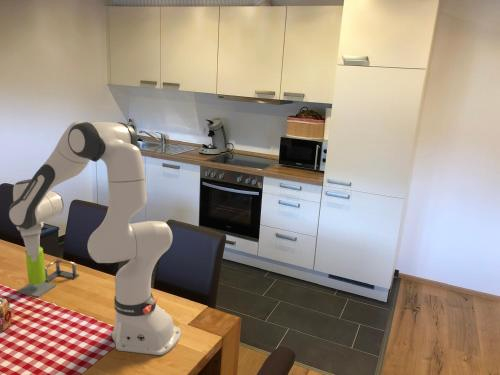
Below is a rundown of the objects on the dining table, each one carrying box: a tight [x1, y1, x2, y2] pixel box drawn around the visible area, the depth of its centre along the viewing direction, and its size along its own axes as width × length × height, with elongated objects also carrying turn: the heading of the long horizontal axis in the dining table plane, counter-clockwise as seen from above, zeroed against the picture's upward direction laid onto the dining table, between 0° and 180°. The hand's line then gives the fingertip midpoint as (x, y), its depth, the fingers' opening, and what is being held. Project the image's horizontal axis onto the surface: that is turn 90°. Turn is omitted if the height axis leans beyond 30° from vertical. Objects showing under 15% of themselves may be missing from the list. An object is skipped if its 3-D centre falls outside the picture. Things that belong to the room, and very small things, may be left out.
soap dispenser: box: [20, 236, 46, 285], centre depth 157 cm, size 6×7×20 cm
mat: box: [16, 282, 57, 299], centre depth 161 cm, size 10×9×1 cm
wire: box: [44, 259, 80, 283], centre depth 169 cm, size 10×9×6 cm
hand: (33, 256), depth 157 cm, fingers closed on soap dispenser, 6 cm apart
